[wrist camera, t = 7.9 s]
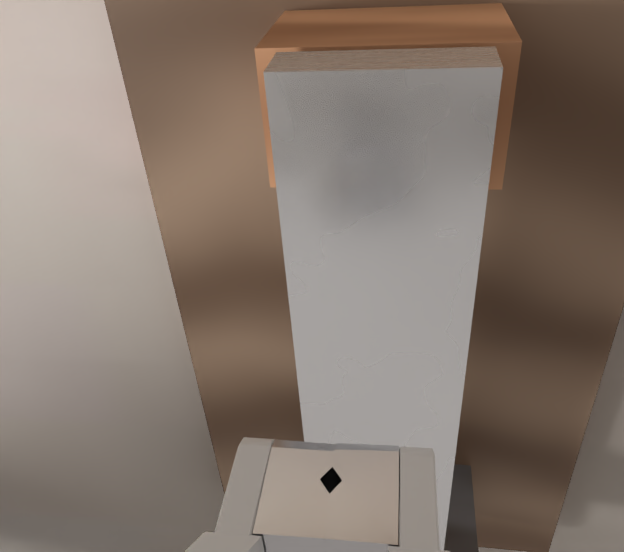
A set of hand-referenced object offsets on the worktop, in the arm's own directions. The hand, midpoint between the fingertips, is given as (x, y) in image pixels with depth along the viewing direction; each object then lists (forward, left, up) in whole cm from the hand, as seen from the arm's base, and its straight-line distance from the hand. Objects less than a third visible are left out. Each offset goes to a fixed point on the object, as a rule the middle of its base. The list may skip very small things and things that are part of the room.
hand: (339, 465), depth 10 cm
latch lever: (-4, -2, -6) cm, 7 cm away
